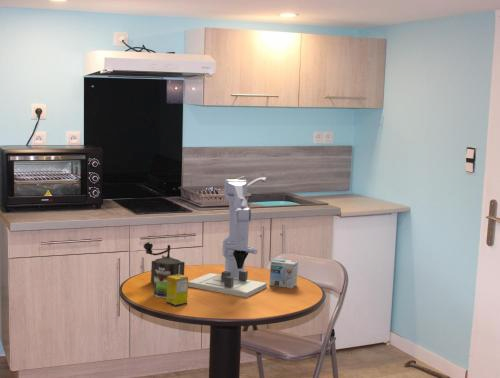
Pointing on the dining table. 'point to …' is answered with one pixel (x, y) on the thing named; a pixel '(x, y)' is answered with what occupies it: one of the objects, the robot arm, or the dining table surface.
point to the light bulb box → (283, 273)
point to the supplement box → (177, 290)
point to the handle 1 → (228, 281)
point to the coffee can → (164, 275)
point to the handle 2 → (243, 275)
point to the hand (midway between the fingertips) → (239, 268)
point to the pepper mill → (148, 248)
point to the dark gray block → (224, 275)
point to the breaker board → (238, 289)
